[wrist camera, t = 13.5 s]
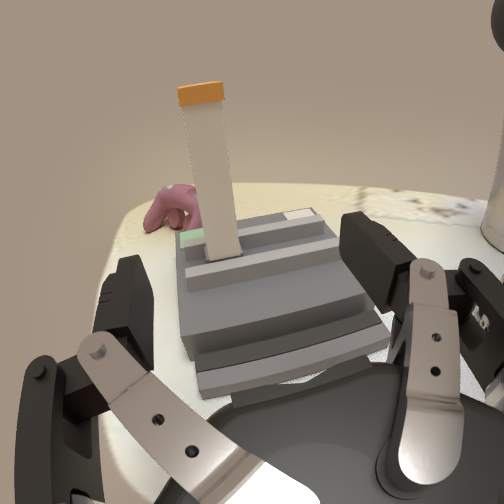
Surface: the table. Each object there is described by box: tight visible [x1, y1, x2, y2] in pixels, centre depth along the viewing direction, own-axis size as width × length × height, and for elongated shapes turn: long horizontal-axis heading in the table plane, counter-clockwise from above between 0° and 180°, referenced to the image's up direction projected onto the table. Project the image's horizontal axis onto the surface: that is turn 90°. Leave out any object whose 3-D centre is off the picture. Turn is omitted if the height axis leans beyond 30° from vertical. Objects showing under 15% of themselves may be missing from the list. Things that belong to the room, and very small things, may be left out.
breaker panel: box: [175, 208, 375, 361], centre depth 26 cm, size 15×14×4 cm
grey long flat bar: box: [194, 310, 391, 400], centre depth 20 cm, size 14×3×1 cm, turn 103°
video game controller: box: [143, 184, 203, 232], centre depth 35 cm, size 10×5×7 cm, turn 51°
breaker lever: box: [177, 81, 244, 264], centre depth 21 cm, size 3×3×14 cm
